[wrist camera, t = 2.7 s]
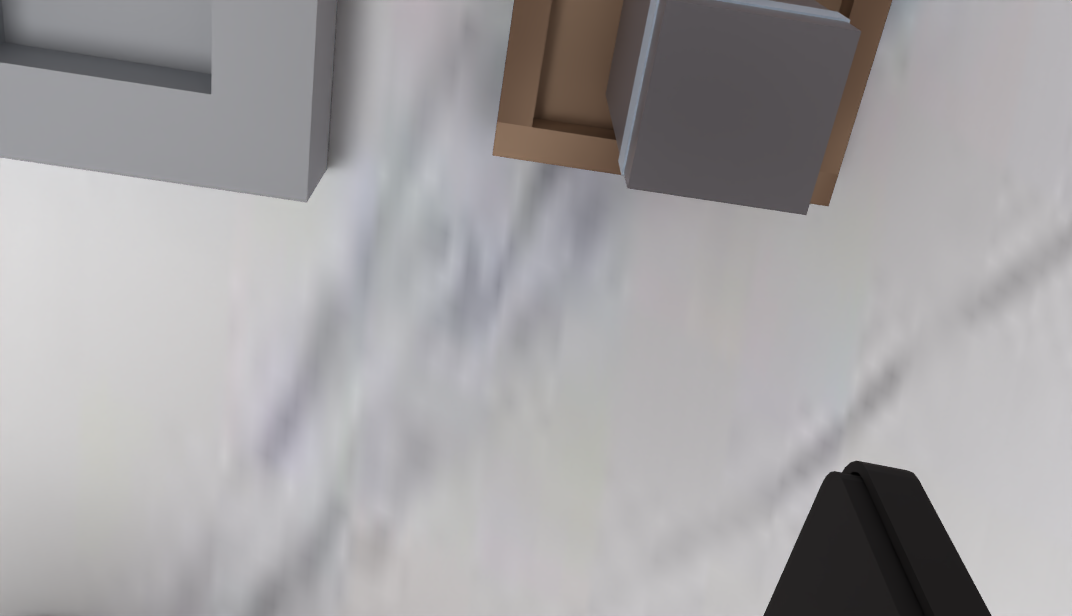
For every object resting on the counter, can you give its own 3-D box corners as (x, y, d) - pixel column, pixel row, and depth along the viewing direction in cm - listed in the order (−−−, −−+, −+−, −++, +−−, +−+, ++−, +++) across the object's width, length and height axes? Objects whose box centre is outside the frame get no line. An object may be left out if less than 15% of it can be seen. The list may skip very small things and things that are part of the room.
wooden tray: (886, -90, 27) (917, -82, 25) (807, 178, 31) (828, 206, 29) (535, -151, 27) (534, -148, 25) (496, 130, 30) (492, 155, 28)
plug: (777, -28, 27) (864, 29, 20) (740, 117, 29) (807, 217, 21) (631, -52, 26) (664, -4, 19) (603, 96, 28) (624, 189, 21)
